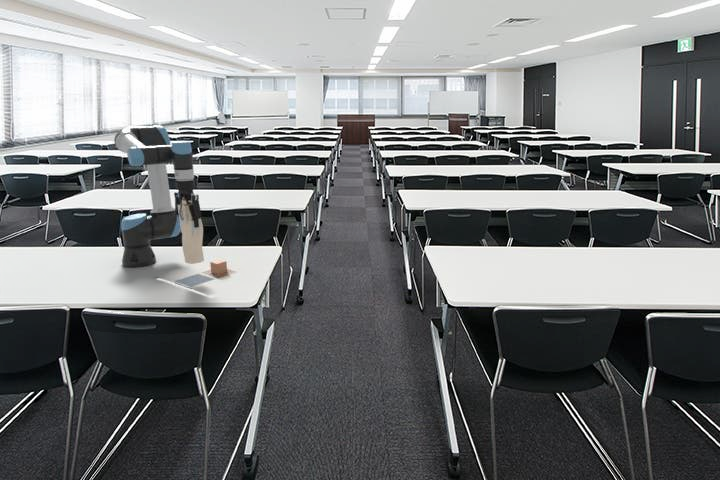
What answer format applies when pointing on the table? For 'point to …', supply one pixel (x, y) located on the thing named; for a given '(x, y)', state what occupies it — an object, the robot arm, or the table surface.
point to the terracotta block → (218, 266)
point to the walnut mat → (219, 274)
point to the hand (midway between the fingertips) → (190, 233)
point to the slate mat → (193, 280)
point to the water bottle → (190, 235)
